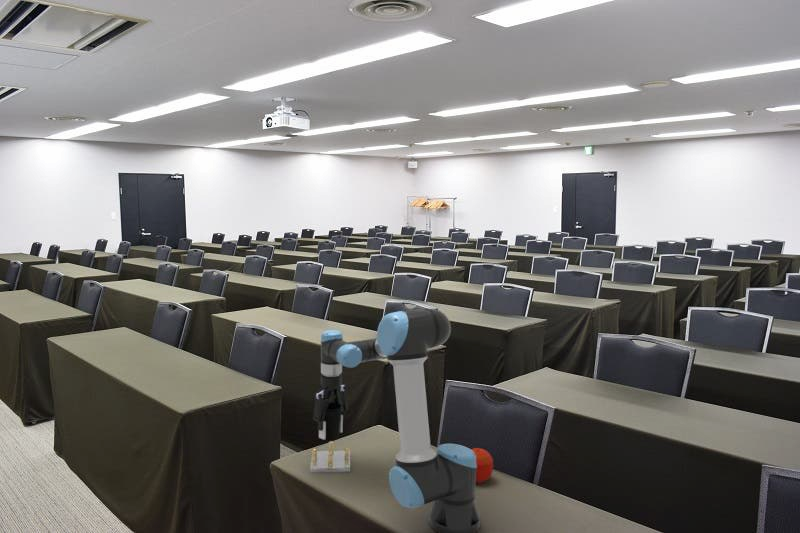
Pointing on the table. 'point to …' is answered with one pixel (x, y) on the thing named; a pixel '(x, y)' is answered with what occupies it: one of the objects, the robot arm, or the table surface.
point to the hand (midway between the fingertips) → (330, 434)
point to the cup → (332, 421)
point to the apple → (483, 465)
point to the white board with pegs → (330, 460)
